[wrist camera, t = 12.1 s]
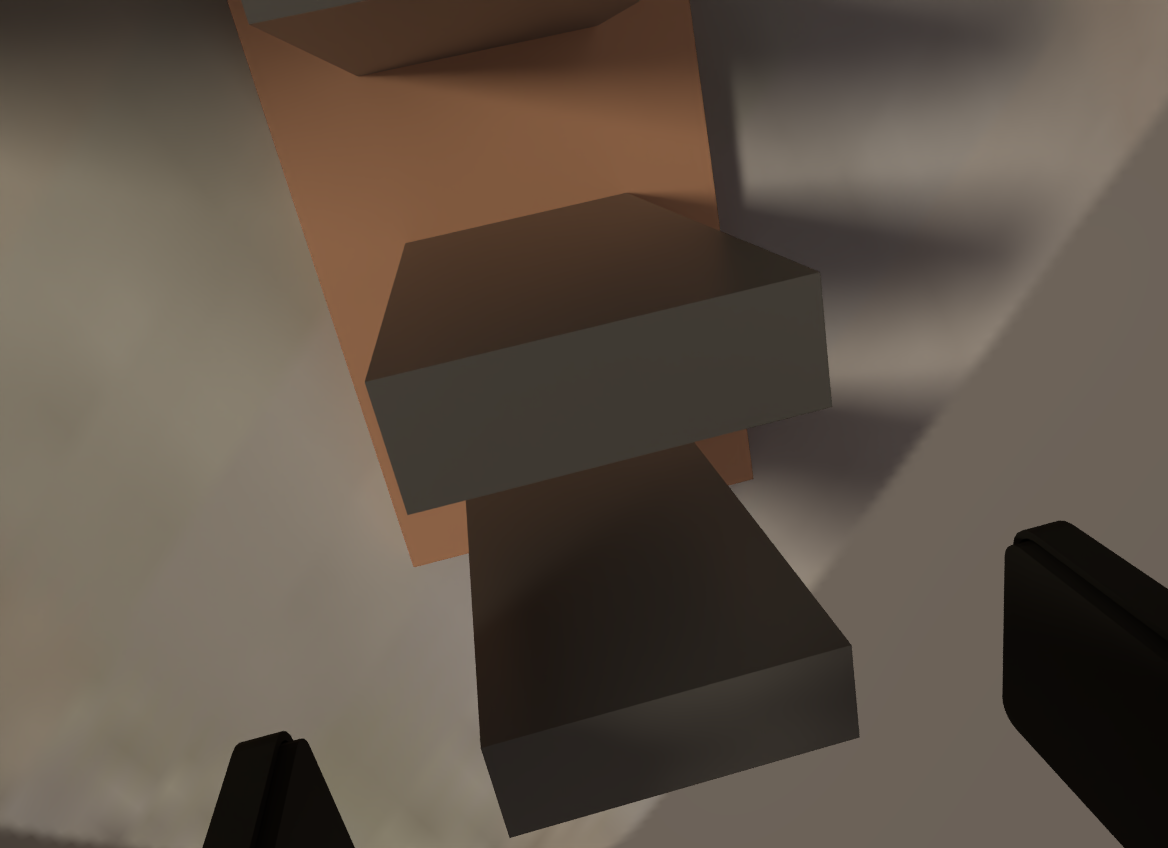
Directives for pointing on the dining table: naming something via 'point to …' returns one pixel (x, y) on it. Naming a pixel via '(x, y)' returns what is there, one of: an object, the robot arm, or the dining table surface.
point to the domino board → (480, 169)
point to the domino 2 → (585, 346)
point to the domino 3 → (641, 640)
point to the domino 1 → (418, 26)
